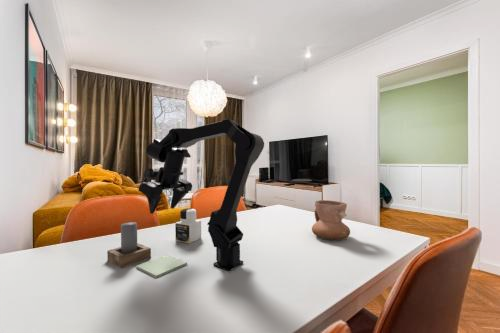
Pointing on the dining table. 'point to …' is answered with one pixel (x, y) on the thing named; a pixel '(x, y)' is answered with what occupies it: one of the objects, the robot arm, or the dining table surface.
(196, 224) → the medicine bottle
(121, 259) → the walnut collar
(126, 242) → the plug
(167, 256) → the green mat
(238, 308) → the dining table surface
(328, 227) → the ceramic jug
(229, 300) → the dining table surface
